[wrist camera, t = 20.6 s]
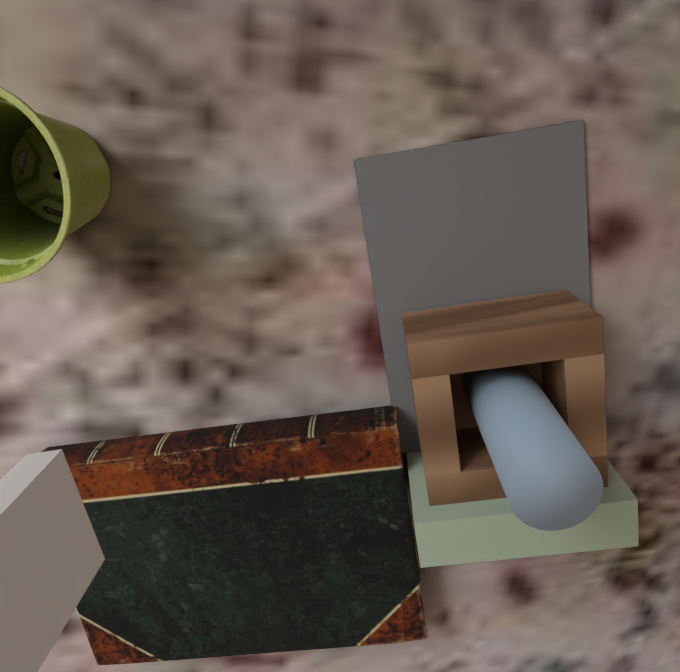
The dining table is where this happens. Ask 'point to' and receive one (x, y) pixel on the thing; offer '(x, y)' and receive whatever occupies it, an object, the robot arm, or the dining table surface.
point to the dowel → (532, 449)
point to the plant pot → (43, 186)
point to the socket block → (496, 352)
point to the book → (249, 539)
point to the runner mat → (471, 232)
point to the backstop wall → (513, 526)
